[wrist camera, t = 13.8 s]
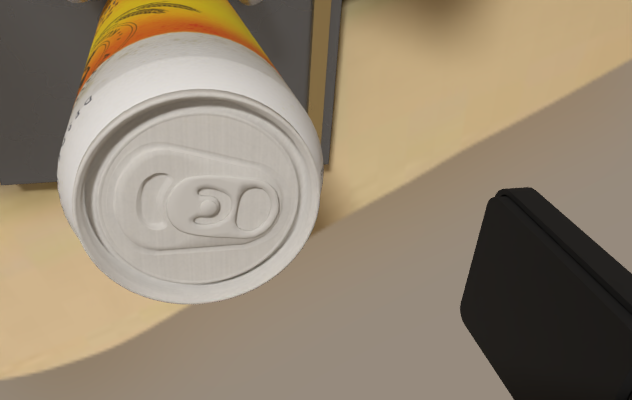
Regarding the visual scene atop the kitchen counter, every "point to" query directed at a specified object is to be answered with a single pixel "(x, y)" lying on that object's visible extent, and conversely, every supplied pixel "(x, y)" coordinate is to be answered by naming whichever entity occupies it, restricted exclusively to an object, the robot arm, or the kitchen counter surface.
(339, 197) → the kitchen counter surface
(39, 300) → the kitchen counter surface
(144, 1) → the beer can
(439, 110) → the kitchen counter surface
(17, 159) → the plate
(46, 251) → the kitchen counter surface
